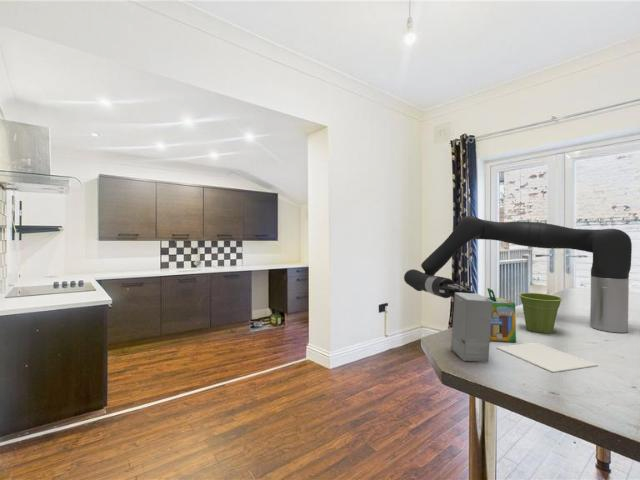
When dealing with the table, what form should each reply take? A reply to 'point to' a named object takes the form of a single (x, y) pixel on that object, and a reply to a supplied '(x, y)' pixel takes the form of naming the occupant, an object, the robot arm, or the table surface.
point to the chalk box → (502, 319)
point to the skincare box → (471, 326)
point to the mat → (546, 357)
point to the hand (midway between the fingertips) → (472, 294)
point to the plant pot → (540, 311)
